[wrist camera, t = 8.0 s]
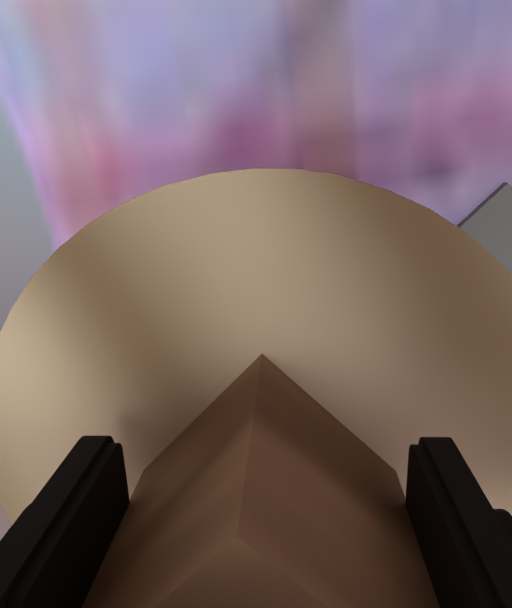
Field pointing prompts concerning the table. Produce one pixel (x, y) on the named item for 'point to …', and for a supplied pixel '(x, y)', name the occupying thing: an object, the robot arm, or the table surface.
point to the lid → (261, 385)
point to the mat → (493, 225)
